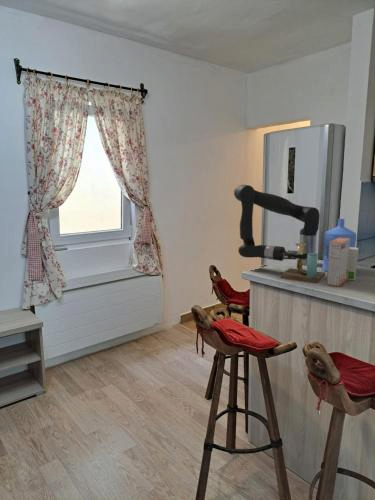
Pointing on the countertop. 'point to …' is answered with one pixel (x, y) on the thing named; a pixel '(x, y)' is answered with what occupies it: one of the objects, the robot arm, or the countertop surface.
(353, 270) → the skincare box
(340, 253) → the cracker box
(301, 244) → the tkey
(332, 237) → the water jug
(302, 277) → the brown wooden board
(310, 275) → the teal cylinder
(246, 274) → the countertop surface
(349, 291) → the countertop surface
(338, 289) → the countertop surface
